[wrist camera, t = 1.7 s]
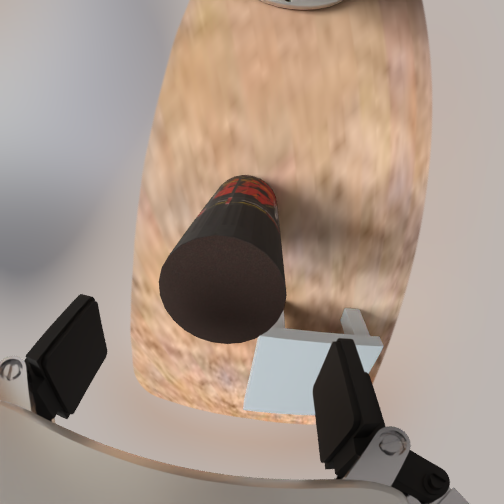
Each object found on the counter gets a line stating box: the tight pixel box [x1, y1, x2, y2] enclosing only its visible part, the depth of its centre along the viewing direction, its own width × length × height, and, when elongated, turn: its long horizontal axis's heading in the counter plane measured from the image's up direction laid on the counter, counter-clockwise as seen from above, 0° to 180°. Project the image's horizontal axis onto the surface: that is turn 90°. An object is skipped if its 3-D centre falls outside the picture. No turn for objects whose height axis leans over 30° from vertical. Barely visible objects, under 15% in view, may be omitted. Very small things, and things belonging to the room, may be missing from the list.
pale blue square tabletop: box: [243, 308, 384, 415], centre depth 30 cm, size 12×12×7 cm
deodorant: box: [159, 175, 287, 344], centre depth 20 cm, size 6×6×15 cm
